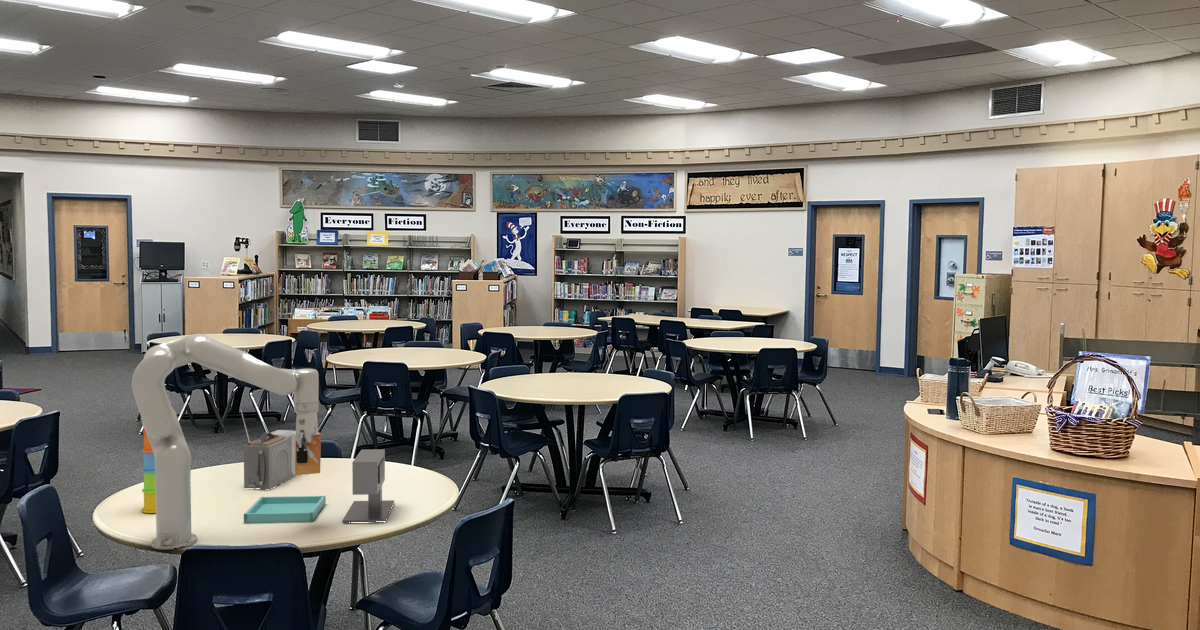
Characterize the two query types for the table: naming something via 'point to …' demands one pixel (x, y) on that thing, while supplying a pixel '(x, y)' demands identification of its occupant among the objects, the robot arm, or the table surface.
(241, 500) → the table surface
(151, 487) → the stacking cups
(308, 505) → the teal tray
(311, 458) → the small box
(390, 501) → the mounted unit
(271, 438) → the grey portable radio
